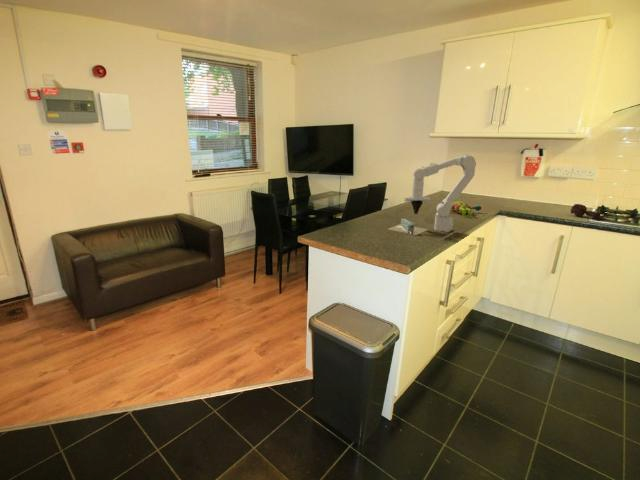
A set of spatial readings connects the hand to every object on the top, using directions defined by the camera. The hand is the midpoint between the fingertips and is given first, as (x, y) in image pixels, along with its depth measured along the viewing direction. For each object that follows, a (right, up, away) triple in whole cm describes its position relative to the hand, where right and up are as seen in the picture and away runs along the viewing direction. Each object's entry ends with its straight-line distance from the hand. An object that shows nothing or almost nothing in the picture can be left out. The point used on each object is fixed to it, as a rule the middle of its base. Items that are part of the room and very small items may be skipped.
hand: (415, 213), depth 194 cm
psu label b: (-5, -10, -3) cm, 11 cm away
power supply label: (-7, -8, +2) cm, 11 cm away
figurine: (+123, 0, +32) cm, 127 cm away
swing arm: (-5, -9, -2) cm, 10 cm away
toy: (+45, +4, +46) cm, 64 cm away
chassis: (-5, -10, 0) cm, 11 cm away
